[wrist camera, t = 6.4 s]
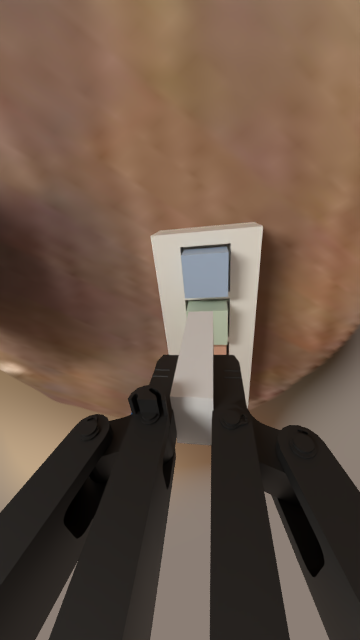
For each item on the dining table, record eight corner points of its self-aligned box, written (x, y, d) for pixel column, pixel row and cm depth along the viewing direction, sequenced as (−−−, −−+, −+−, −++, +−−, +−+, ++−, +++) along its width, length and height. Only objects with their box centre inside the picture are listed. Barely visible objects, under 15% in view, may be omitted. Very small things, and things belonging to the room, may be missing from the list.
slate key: (187, 289, 27) (185, 298, 24) (184, 249, 24) (180, 255, 22) (226, 287, 26) (227, 296, 23) (226, 246, 24) (228, 252, 21)
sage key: (191, 332, 30) (189, 344, 27) (188, 301, 27) (186, 311, 25) (226, 332, 29) (227, 344, 26) (226, 299, 27) (227, 310, 24)
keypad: (180, 384, 41) (176, 405, 37) (160, 230, 28) (150, 236, 24) (243, 386, 39) (247, 408, 35) (254, 222, 26) (262, 226, 22)
